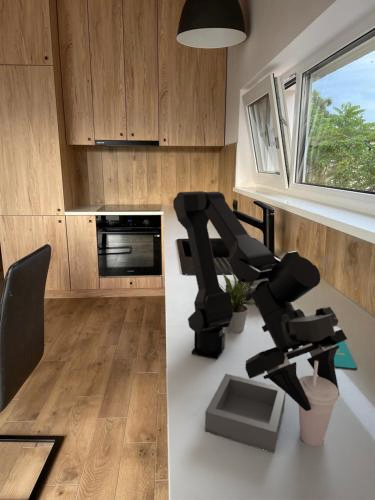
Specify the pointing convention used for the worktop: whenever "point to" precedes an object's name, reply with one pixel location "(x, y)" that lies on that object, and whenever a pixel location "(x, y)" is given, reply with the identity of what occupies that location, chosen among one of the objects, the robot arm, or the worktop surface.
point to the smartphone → (343, 357)
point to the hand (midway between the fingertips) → (323, 403)
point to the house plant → (237, 304)
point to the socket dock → (246, 412)
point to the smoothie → (316, 407)
